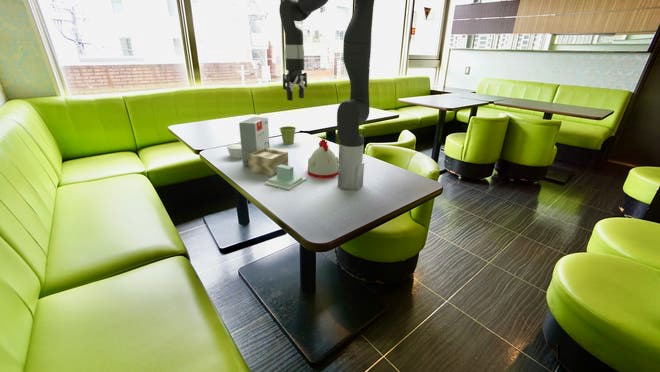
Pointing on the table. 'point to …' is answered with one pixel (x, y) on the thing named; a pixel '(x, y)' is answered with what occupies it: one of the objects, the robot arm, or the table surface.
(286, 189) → the mat
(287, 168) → the lid
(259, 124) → the hard drive box
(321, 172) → the kitchen timer
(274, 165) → the crate
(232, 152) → the ramekin
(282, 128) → the plant pot
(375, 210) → the table surface
